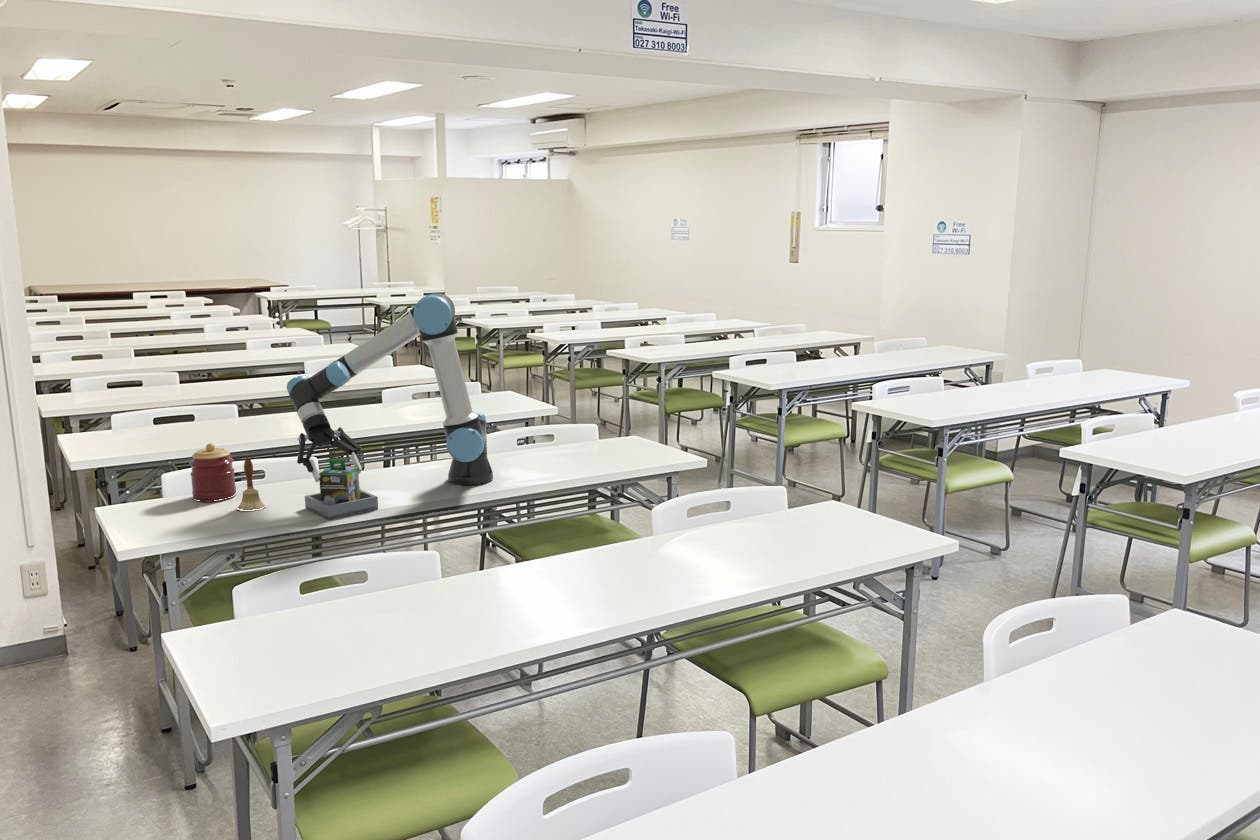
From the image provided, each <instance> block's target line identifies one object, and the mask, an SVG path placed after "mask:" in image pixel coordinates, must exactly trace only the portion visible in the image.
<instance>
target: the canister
mask: <svg viewBox="0 0 1260 840" xmlns="http://www.w3.org/2000/svg"><path fill="white" fill-rule="evenodd" d="M230 455H231V452H230V451H228V450H226V449H225V448H224V447H223V448H222V447H216V446H215V444H214V443H207V444H206V446H205V448H202V449H199V450H197V451H195V453H193V454H192V455H191V458H192V460H191V461H190V462H189V466H190V467H191V472H190V474H189V475H190V477H191V487H192V489H191V490H192V491H191V493H192V494H191V495H192V499H193V500H194V499H196V500H200V501H214V500H219V499H225V498H228V497H231V496H233V495H234V494H235V493H236V494H237V487H236V481H235V468H234V466H233V462H234V458H233V457H231V456H230Z"/></svg>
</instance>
